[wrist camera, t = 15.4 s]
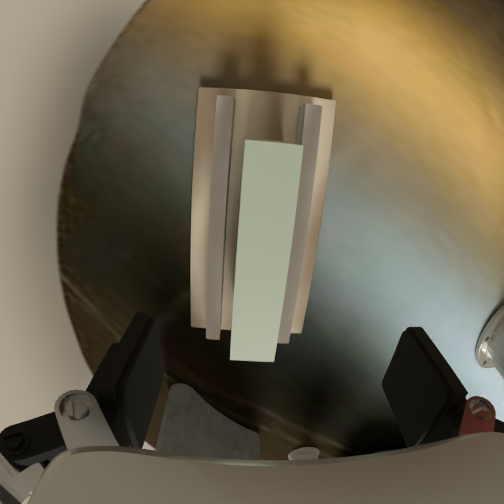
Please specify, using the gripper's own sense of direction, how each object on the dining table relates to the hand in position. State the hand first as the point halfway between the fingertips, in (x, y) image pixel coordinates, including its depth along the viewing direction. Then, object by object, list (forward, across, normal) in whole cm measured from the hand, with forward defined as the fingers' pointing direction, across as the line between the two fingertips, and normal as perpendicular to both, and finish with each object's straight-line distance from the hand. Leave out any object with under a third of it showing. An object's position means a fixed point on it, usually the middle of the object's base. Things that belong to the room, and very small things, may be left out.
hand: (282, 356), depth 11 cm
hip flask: (+18, +4, +27) cm, 32 cm away
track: (+17, +1, 0) cm, 17 cm away
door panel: (+16, +1, 0) cm, 16 cm away
